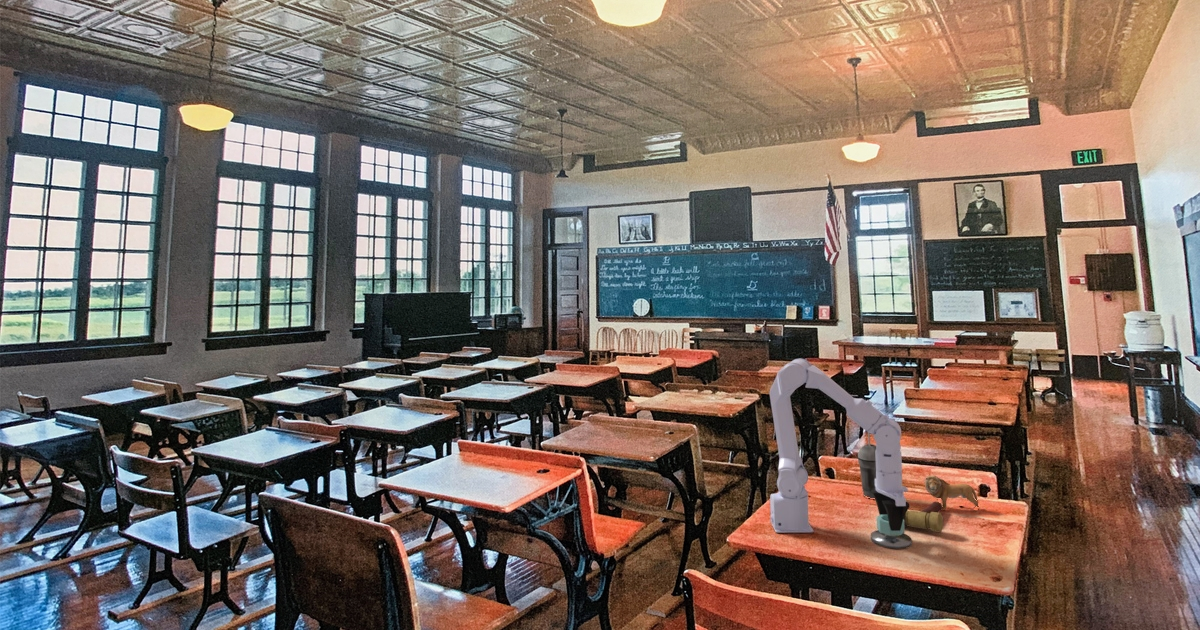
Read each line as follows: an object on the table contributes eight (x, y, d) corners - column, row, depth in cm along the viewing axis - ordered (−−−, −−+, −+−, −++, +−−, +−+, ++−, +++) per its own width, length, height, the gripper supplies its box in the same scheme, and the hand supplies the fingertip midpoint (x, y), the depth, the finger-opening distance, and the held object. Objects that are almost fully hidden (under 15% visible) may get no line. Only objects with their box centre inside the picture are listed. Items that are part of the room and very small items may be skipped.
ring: (882, 535, 143) (882, 523, 143) (874, 526, 149) (874, 514, 149) (907, 535, 143) (907, 522, 142) (898, 526, 148) (897, 514, 148)
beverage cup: (889, 496, 176) (887, 428, 175) (880, 503, 171) (878, 433, 170) (863, 491, 181) (861, 425, 180) (854, 498, 176) (852, 430, 175)
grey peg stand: (878, 549, 142) (877, 530, 142) (865, 533, 151) (864, 516, 150) (918, 549, 141) (917, 530, 141) (902, 533, 150) (902, 515, 150)
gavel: (919, 493, 168) (959, 497, 161) (921, 510, 168) (961, 515, 161) (894, 509, 153) (937, 515, 146) (895, 527, 153) (938, 534, 146)
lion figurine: (930, 511, 162) (929, 477, 162) (921, 505, 167) (920, 473, 167) (987, 511, 161) (985, 477, 161) (975, 505, 166) (974, 473, 166)
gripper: (918, 479, 137) (920, 537, 138) (894, 461, 152) (896, 513, 152) (886, 479, 138) (888, 537, 139) (865, 461, 153) (867, 514, 153)
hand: (890, 525), depth 146 cm, fingers closed on ring, 6 cm apart
